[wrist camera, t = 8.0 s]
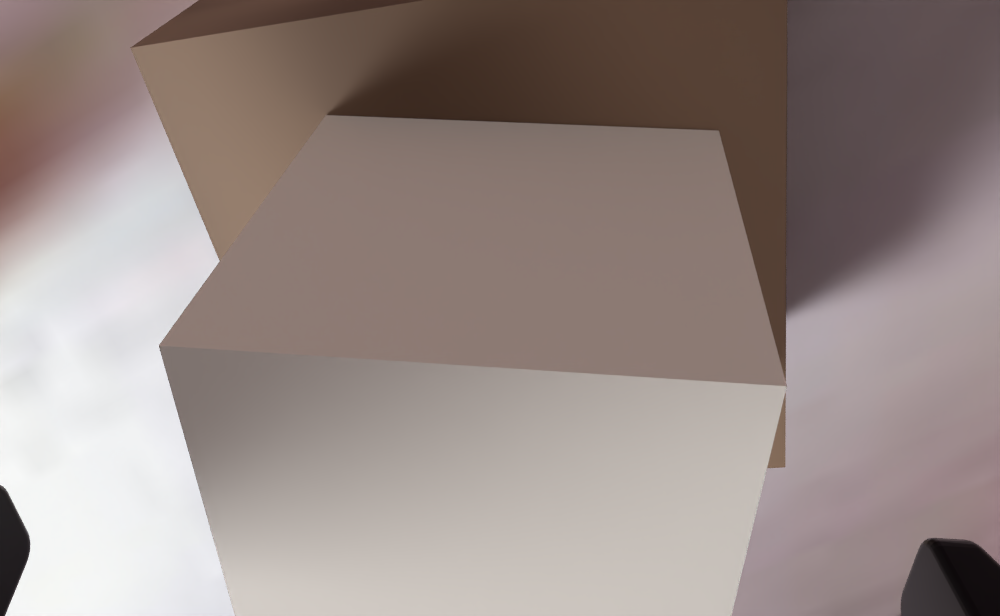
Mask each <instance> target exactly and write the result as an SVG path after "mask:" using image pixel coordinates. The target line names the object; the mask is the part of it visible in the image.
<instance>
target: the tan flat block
mask: <svg viewBox="0 0 1000 616" xmlns="http://www.w3.org/2000/svg"><path fill="white" fill-rule="evenodd" d="M131 50H132V52H133V55H134V57H135V60H136V62H137V64H138V67H139V69H140V72H141V74H142V76H143V79H144V81H145V84H146V86H147V88H148V91H149V93H150V95H151V98H152V100H153V103H154V105H155V107H156V110H157V112H158V115H159V117H160V119H161V122H162V124H163V127H164V129H165V131H166V134H167V136H168V138H169V141H170V143H171V146H172V148H173V150H174V153H175V155H176V158H177V160H178V162H179V165H180V167H181V170H182V172H183V174H184V177H185V179H186V181H187V184H188V186H189V189H190V191H191V193H192V196H193V198H194V201H195V203H196V205H197V208H198V210H199V213H200V215H201V217H202V220H203V222H204V224H205V227H206V229H207V232H208V234H209V236H210V239H211V241H212V244H213V246H214V248H215V251H216V253H217V256H218V258H219V260H220V261H221V259H222V258H223V256H224V255H225V254H226V252H227V251H228V250H229V248H230V247H231V245H232V244H233V243H234V241H235V240H236V238H237V237H238V236H239V234H240V233H241V232H242V230H243V229H244V227H245V226H246V225H247V223H248V222H249V221H250V219H251V218H252V216H253V215H254V214H255V212H256V211H257V210H258V208H259V207H260V205H261V204H262V203H263V201H264V200H265V198H266V197H267V196H268V194H269V193H270V192H271V190H272V189H273V187H274V186H275V185H276V183H277V182H278V181H279V179H280V178H281V176H282V175H283V174H284V172H285V171H286V170H287V168H288V167H289V165H290V164H291V163H292V161H293V160H294V158H295V157H296V156H297V154H298V153H299V152H300V150H301V149H302V147H303V146H304V145H305V143H306V142H307V141H308V139H309V138H310V136H311V135H312V134H313V132H314V131H315V130H316V128H317V127H318V125H319V124H320V123H321V121H322V120H323V118H324V117H325V116H326V115H337V116H363V117H388V118H413V119H439V120H464V121H489V122H514V123H540V124H565V125H590V126H616V127H641V128H666V129H692V130H717V131H719V133H720V137H721V141H722V145H723V148H724V152H725V156H726V160H727V163H728V167H729V171H730V175H731V178H732V182H733V186H734V190H735V193H736V197H737V201H738V205H739V208H740V212H741V216H742V220H743V224H744V227H745V231H746V235H747V239H748V242H749V246H750V250H751V254H752V257H753V261H754V265H755V269H756V272H757V276H758V280H759V284H760V287H761V291H762V295H763V299H764V302H765V306H766V310H767V314H768V317H769V321H770V325H771V329H772V332H773V336H774V340H775V344H776V347H777V351H778V355H779V359H780V363H781V366H782V370H783V374H784V378H785V381H786V172H787V0H199V1H197V2H196V3H194V4H193V5H192V6H190V7H189V8H187V9H186V10H184V11H183V12H181V13H180V14H179V15H177V16H176V17H174V18H173V19H171V20H170V21H168V22H167V23H166V24H164V25H163V26H161V27H160V28H158V29H157V30H155V31H154V32H153V33H151V34H150V35H148V36H147V37H145V38H144V39H142V40H141V41H140V42H138V43H137V44H135V45H134V46H132V47H131ZM785 397H786V392H785V396H784V400H783V404H782V408H781V413H780V417H779V421H778V425H777V429H776V433H775V437H774V442H773V446H772V450H771V454H770V458H769V462H768V466H767V468H779V467H785Z"/></svg>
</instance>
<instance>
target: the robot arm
mask: <svg viewBox="0 0 1000 616" xmlns="http://www.w3.org/2000/svg"><path fill="white" fill-rule="evenodd" d="M29 552H30V538H29V534H28V532H27V530H26V528H25V526H24V524H23V522H22V520H21V518H20V516H19V514H18V512H17V510H16V508H15V506H14V504H13V502H12V500H11V498H10V496H9V494H8V492H7V491H6V489H5V488H4V487H3V486H1V485H0V616H5V614H6V612H7V609H8V607H9V604H10V602H11V600H12V597H13V595H14V592H15V590H16V587H17V585H18V583H19V580H20V578H21V575H22V573H23V570H24V568H25V565H26V563H27V560H28V557H29ZM901 616H1000V565H999V564H998V563H997V562H996V561H995V560H994V559H993V558H992V557H991V556H990V555H989V554H988V553H987V552H986V551H985V550H983V549H982V548H981V547H980V546H979V545H977V544H975V543H974V542H971V541H968V540H960V539H943V538H929V539H927V540H925V541H924V542H923V543H922V544H921V546H920V548H919V550H918V552H917V555H916V558H915V560H914V563H913V566H912V568H911V571H910V574H909V576H908V579H907V582H906V584H905V587H904V590H903V593H902V597H901Z"/></svg>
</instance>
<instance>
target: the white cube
mask: <svg viewBox="0 0 1000 616" xmlns="http://www.w3.org/2000/svg"><path fill="white" fill-rule="evenodd" d="M159 348H160V351H161V355H162V359H163V362H164V366H165V369H166V373H167V376H168V380H169V383H170V387H171V390H172V394H173V398H174V401H175V405H176V408H177V412H178V415H179V419H180V422H181V426H182V429H183V433H184V437H185V440H186V444H187V447H188V451H189V454H190V458H191V461H192V465H193V468H194V472H195V476H196V479H197V483H198V486H199V490H200V493H201V497H202V500H203V504H204V507H205V511H206V515H207V518H208V522H209V525H210V529H211V532H212V536H213V539H214V543H215V546H216V550H217V554H218V557H219V561H220V564H221V568H222V571H223V575H224V578H225V582H226V585H227V589H228V593H229V596H230V600H231V603H232V607H233V610H234V614H235V616H731V615H732V611H733V607H734V603H735V599H736V594H737V590H738V586H739V582H740V578H741V574H742V570H743V566H744V561H745V557H746V553H747V549H748V545H749V541H750V537H751V532H752V528H753V524H754V520H755V516H756V512H757V508H758V504H759V499H760V495H761V491H762V487H763V483H764V479H765V475H766V470H767V466H768V462H769V458H770V454H771V450H772V446H773V442H774V437H775V433H776V429H777V425H778V421H779V417H780V413H781V408H782V404H783V400H784V396H785V392H786V388H787V385H786V381H785V378H784V374H783V370H782V366H781V363H780V359H779V355H778V351H777V347H776V344H775V340H774V336H773V332H772V329H771V325H770V321H769V317H768V314H767V310H766V306H765V302H764V299H763V295H762V291H761V287H760V284H759V280H758V276H757V272H756V269H755V265H754V261H753V257H752V254H751V250H750V246H749V242H748V239H747V235H746V231H745V227H744V224H743V220H742V216H741V212H740V208H739V205H738V201H737V197H736V193H735V190H734V186H733V182H732V178H731V175H730V171H729V167H728V163H727V160H726V156H725V152H724V148H723V145H722V141H721V137H720V133H719V131H717V130H692V129H666V128H641V127H616V126H590V125H565V124H540V123H514V122H489V121H464V120H439V119H413V118H388V117H363V116H337V115H326V116H325V117H324V118H323V120H322V121H321V123H320V124H319V125H318V127H317V128H316V130H315V131H314V132H313V134H312V135H311V136H310V138H309V139H308V141H307V142H306V143H305V145H304V146H303V147H302V149H301V150H300V152H299V153H298V154H297V156H296V157H295V158H294V160H293V161H292V163H291V164H290V165H289V167H288V168H287V170H286V171H285V172H284V174H283V175H282V176H281V178H280V179H279V181H278V182H277V183H276V185H275V186H274V187H273V189H272V190H271V192H270V193H269V194H268V196H267V197H266V198H265V200H264V201H263V203H262V204H261V205H260V207H259V208H258V210H257V211H256V212H255V214H254V215H253V216H252V218H251V219H250V221H249V222H248V223H247V225H246V226H245V227H244V229H243V230H242V232H241V233H240V234H239V236H238V237H237V238H236V240H235V241H234V243H233V244H232V245H231V247H230V248H229V250H228V251H227V252H226V254H225V255H224V256H223V258H222V259H221V261H220V262H219V263H218V265H217V266H216V267H215V269H214V270H213V272H212V273H211V274H210V276H209V277H208V278H207V280H206V281H205V283H204V284H203V285H202V287H201V288H200V290H199V291H198V292H197V294H196V295H195V296H194V298H193V299H192V301H191V302H190V303H189V305H188V306H187V307H186V309H185V310H184V312H183V313H182V314H181V316H180V317H179V318H178V320H177V321H176V323H175V324H174V325H173V327H172V328H171V330H170V331H169V332H168V334H167V335H166V336H165V338H164V339H163V341H162V342H161V343H160V345H159Z"/></svg>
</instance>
